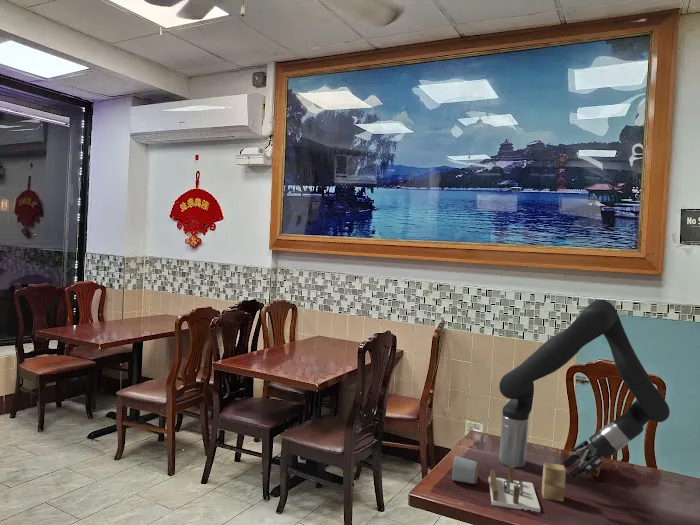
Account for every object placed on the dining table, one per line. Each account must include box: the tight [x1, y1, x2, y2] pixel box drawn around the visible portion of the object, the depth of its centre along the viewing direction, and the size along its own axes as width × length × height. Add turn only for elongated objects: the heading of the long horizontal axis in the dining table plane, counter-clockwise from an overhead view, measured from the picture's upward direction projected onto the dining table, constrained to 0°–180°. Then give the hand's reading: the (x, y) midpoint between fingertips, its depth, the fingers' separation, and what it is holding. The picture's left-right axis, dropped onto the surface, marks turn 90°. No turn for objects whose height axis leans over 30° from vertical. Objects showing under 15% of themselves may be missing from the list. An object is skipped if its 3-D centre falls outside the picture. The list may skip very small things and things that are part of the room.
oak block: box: [541, 462, 567, 502], centre depth 164 cm, size 6×4×10 cm, turn 78°
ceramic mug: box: [451, 455, 480, 485], centre depth 173 cm, size 11×8×8 cm
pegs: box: [503, 478, 523, 496], centre depth 164 cm, size 6×4×3 cm
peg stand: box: [488, 476, 541, 513], centre depth 164 cm, size 14×17×1 cm
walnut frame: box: [489, 466, 519, 504], centre depth 164 cm, size 7×16×5 cm, turn 168°
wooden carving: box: [588, 456, 605, 478], centre depth 183 cm, size 16×5×10 cm, turn 152°
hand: (567, 470), depth 163 cm, fingers open, 8 cm apart
